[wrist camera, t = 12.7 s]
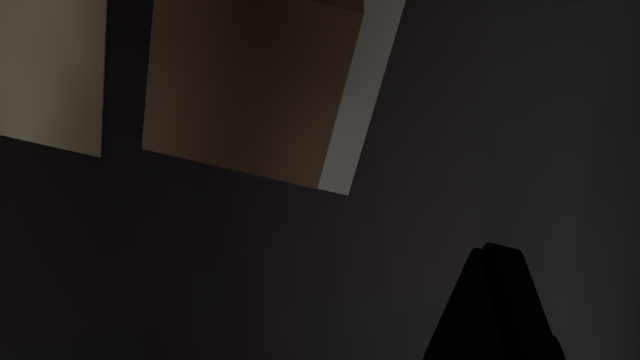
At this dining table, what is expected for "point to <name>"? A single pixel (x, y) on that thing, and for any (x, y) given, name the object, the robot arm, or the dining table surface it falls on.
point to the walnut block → (249, 82)
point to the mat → (360, 93)
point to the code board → (53, 72)
